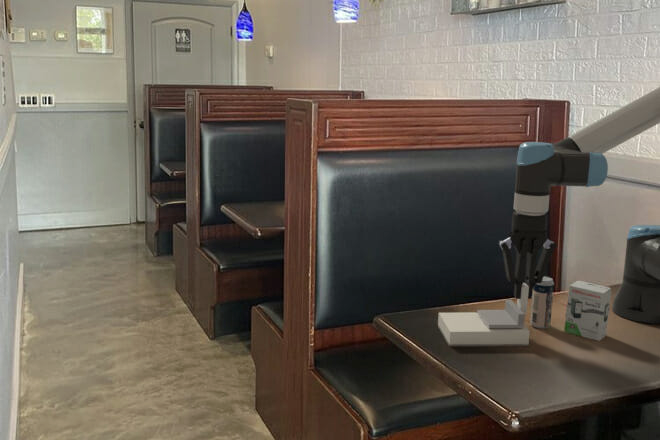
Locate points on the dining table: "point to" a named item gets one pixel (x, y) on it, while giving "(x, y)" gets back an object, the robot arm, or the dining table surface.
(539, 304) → the beer can
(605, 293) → the ink box
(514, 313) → the shutter
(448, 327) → the socket plate
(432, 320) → the dining table surface
